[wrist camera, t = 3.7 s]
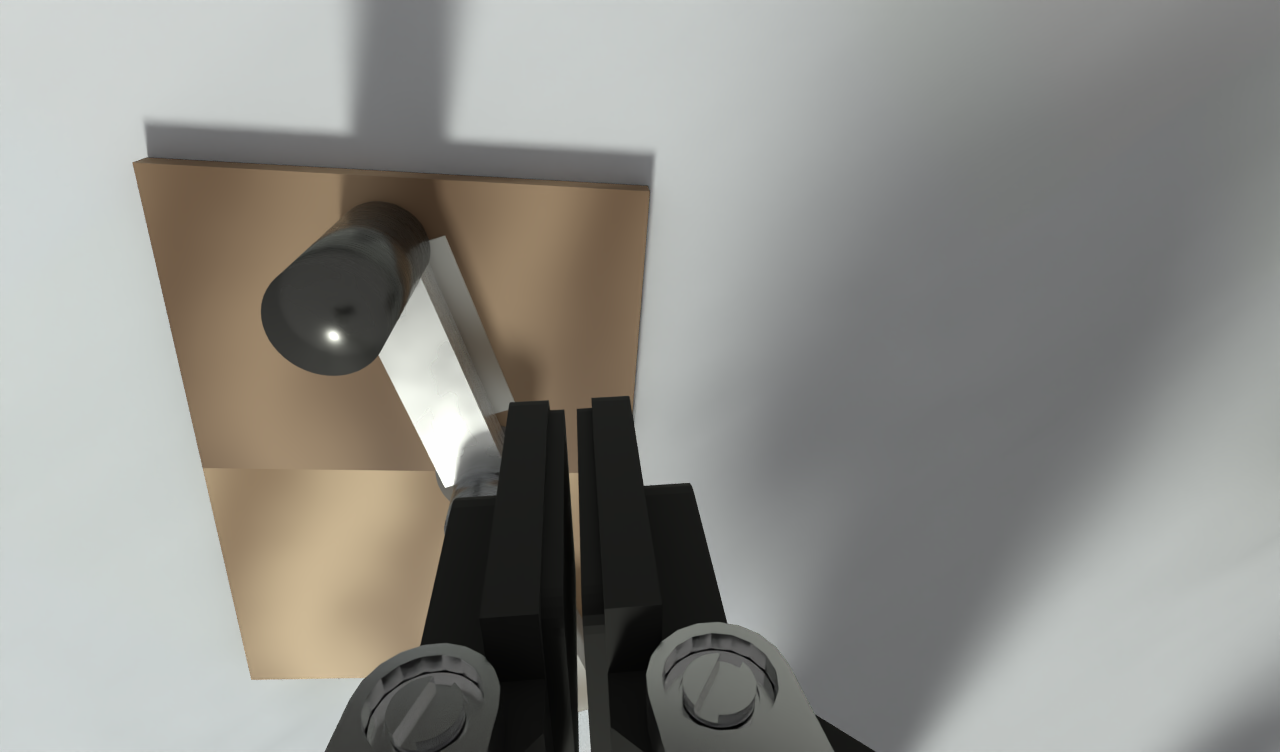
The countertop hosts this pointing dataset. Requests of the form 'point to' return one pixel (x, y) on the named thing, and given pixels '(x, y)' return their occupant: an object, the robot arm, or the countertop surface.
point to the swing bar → (389, 335)
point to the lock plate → (374, 382)
